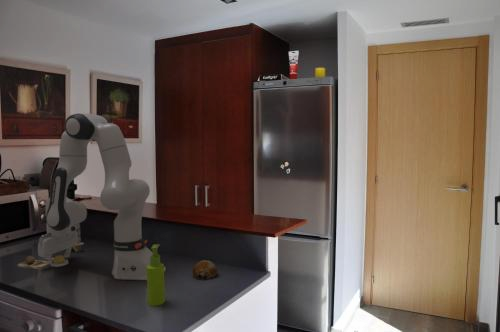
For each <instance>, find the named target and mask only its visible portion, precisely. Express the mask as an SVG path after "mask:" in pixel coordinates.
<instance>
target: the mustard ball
mask: <svg viewBox="0 0 500 332" xmlns="http://www.w3.org/2000/svg"><path fill="white" fill-rule="evenodd" d="M64 259H65V257H64V255H61V254H58V255H56V256H55V257H54V259H53V260H54V261H55V263H56V264H61V263H63V262H64Z"/></svg>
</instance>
